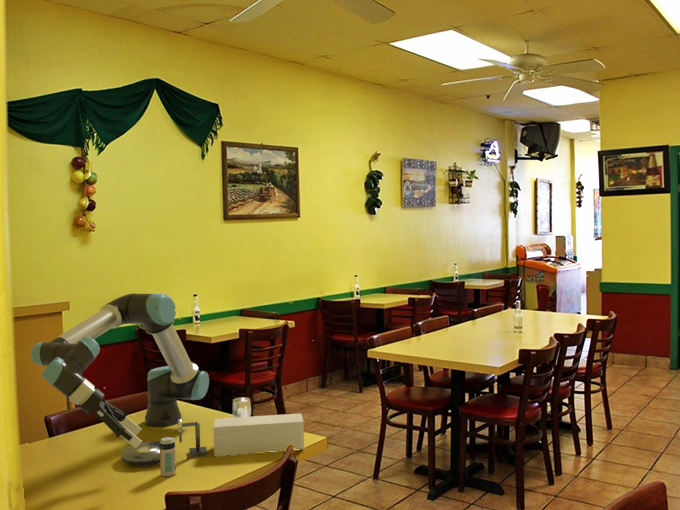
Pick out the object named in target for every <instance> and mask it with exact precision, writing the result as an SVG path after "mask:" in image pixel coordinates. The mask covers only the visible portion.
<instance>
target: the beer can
mask: <svg viewBox="0 0 680 510" xmlns="http://www.w3.org/2000/svg"><path fill="white" fill-rule="evenodd" d="M159 465H160V475H161V476H162V477H165V478H169V477H172V476H174V475H176V473H177V467H176V440H175V438H174V437H173V436H165V437H162V438H161V439H160V464H159Z"/></svg>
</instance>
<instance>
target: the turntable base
mask: <svg viewBox="0 0 680 510" xmlns="http://www.w3.org/2000/svg"><path fill="white" fill-rule="evenodd" d="M127 464H128V465H129V463H127ZM156 465H160V462H155V463H150V464H130V465H129V466H133V467H139V468H140V467H142V468H143V467H151V466H156Z"/></svg>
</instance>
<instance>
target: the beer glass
mask: <svg viewBox="0 0 680 510" xmlns="http://www.w3.org/2000/svg"><path fill="white" fill-rule="evenodd" d="M251 404H252V403H251V398H250V397H247V396H246V397H244V396H243V397H242V396H240V397H236V398H234V399H232V418H236V417H252V416H251V415H252V406H251Z"/></svg>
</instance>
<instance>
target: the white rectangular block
mask: <svg viewBox="0 0 680 510" xmlns="http://www.w3.org/2000/svg"><path fill="white" fill-rule="evenodd" d="M304 426H305V425H304V418H303V415H302V413H289V414H285V413H284V414H271V415H270V414H269V415H255V416H251V417H236V418H234V417H223V418H215V419H214V423H213V428H212V429H213V456H216V457H228V456H227V455H230V456H237V455H236V454H245V455H248V454H247V453H256V452H269V451H280V450H281V451H285V449H286V448H287V447H288V446H289V445H291V444H293V445H294V448H295V449H303V450H302V451H305V436H304V435H305V434H304V433H305V430H304Z"/></svg>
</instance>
